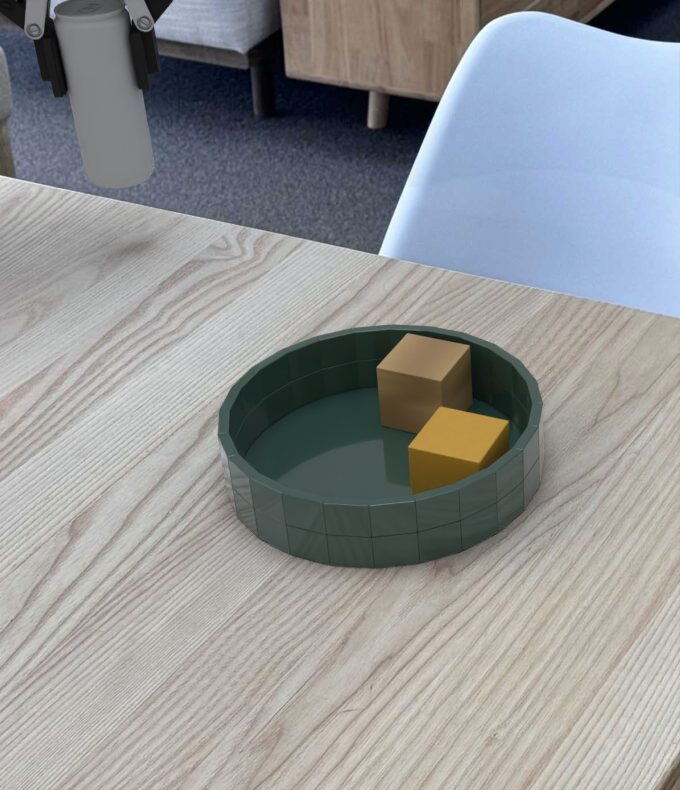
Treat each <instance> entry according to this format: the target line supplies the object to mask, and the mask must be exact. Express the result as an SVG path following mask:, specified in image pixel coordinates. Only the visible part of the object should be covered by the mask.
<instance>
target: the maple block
mask: <svg viewBox="0 0 680 790" xmlns="http://www.w3.org/2000/svg"><path fill="white" fill-rule="evenodd" d="M376 369H377V380H378V392H379V403H380V414H381V425H382V426H384V427H388V428H393V429H397V430H402V431H406V432H411V433H415V434H419V432H420V431H421V430H422V428H423V427H424V426H425V425H426V423H427V422H428V421H429V420H430V418H431V417H432V416H433V415H434V413H435V412H436V411H437V410H438V408H439V407H446V408H450V409H455V410H460V411H465V412H466V411H467V410H468V409H469V408H470V406H471V405H472V404H473V399H472V376H471V354H470V345H465V344H460V343H455V342H450V341H445V340H440V339H434V338H429V337H424V336H419V335H414V334H409V333H407V334H406V335H405V336H404V337H403V339H402V340H401V341H400V342H399V343H398V344H397V345H396V346H395V347H394V349H393V350H392V351H391V352H390V353H389V354H388V355H387V356H386V357H385V358H384V360H383V361H382V362H381V363H380V364H379V365H378V366H377V368H376Z"/></svg>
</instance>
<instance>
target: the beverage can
mask: <svg viewBox="0 0 680 790" xmlns="http://www.w3.org/2000/svg"><path fill="white" fill-rule="evenodd" d="M53 14H54V15H55V17H54V19H53V21H54V26H55V31H56V36H57V41H58V45H59V50H60V55H61V60H62V65H63V70H64V74H65V79H66V84H67V89H68V90H67V93H68V98H69V103H70V107H71V113H72V116H73V117H72V118H73V122H74V127H75V131H76V136H77V141H78V142H77V143H78V146H79V150H80V154H81V155H80V156H81V160H82V166H83V170H84V175H85V177H86V178H87V179H88V180H89V181H90V182H92V183H93V184H94V185H96V187H97V186H98V187H101V188H104V189H105V188H106V189H126V188H130V187H134V186H138V185H140V184H142V183H144V182H146V181H147V180H149V179H150V178H151V177H152V176H153V173H154V170H155V168H156V162H155V156H154V151H153V150H154V149H153V144H152V140H151V134H150V128H149V127H150V126H149V124H148V117H147V111H146V105H145V99H144V94H143V91H142V89H140V90H139V88H138V83H137V77H136V72H135V66H134V61H133V55H132V50H131V44H130V38H129V34H130V30H131V27H132V24H131V21H132V18H131V15H130V13H129V11H128V9H127V7H126V4H125V2H124V0H64V1H62V2H60V3H58V4H57V5H55V6H54V8H53Z"/></svg>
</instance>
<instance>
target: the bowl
mask: <svg viewBox="0 0 680 790" xmlns="http://www.w3.org/2000/svg"><path fill="white" fill-rule="evenodd" d="M407 333H409V334H414V335H419V336H424V337H429V338H434V339H440V340H445V341H450V342H455V343H460V344H465V345H470V354H471V376H472V399H473V404H472V405H471V406H470V408H469V409H468V410H467V411H466V412H469V413H474V414H479V415H484V416H488V417H493V418H498V419H503V420H507V421H509V444H510V450H509V451H508V452H507V453H505V454H504V455H503V456H502V457H500V458H499V459H498V460H497V461H495V462H494V463H493V464H491V465H490V466H489V467H487V468H485V469H483V470H481V471H479V472H477V473H475V474H473V475H470V476H468V477H466V478H464V479H462V480H460V481H458V482H456V483H454V484H451V485H447V486H444V487H440V488H436V489H433V490H429V491H425V492H421V493H418V494H414V495H412V492H411V479H410V466H409V453H408V446H409V445H410V444H411V442H412V441H413V440H414V439H415V437H416V436H417V435H418V434H415V433H411V432H406V431H402V430H397V429H393V428H388V427H384V426H382V425H381V414H380V403H379V392H378V380H377V369H376V368H377V366H378V365H379V364H380V363H381V362H382V361H383V360H384V358H385V357H386V356H387V355H388V354H389V353H390V352H391V351H392V350H393V349H394V347H395V346H396V345H397V344H398V343H399V342H400V341H401V340H402V339H403V337H404V336H405V335H406V334H407ZM544 428H545V427H544V399H543V397H542V393H541V390H540V387H539V383H538V380H537V379H536V377H535V376H534V375H533V374H532V373H531V371H529V369H528V368H527V367H526V365H525V364H524V363H523V362H522V361H521V359H519V358H518V357H516V356H514V355H512V354H511V353H510V352H508V351H506V350H505V349H503V348H502V347H500V346H499V345H498V344H496V343H493V342H491V341H488V340H486V339H483V338H481V337H478V336H475V335H473V334H469V333H467V332H463V331H458V330H455V329H448V328H442V327H437V326H433V325H418V324H417V325H415V324H394V323H392V324H389V323H388V324H379V325H369V326H368V325H367V326H358V327H356V326H355V327H350V328H345V329H342V330H341V329H340V330H337V331H332V332H328V333H323V334H319V335H315V336H311V337H309V338H307V339H304V340H302V341H299V342H296V343H294V344H291V345H289V346H286V347H284V348H281V349H279V350H278V351H276V352H274V353H273V354H271V355H269V356H268V357H266V358H264V359H263V360H260V362H257V363H256V364H255V365H253V366H251V367H250V368H249V369H248V371H246V372H245V373H244V374H243V375H242V376H241V377H240V378H239V379H238V380H237V381H236V382H235V383H234V384H232V386H231V387H230V389H229V390H228V392H227V394H226V396H225V398H224V400H223V401H222V404H221V406H220V408H219V410H218V420H217V434H216V435H217V440H218V447H219V452H220V459H221V464H222V470H223V475H224V482H225V483H224V484H225V487H226V493H227V496H228V498H229V501H230V503H231V506H232V508H233V511H234V513H235V515H236V517H237V518H238V519H239V520H240V521H241V522H242V524H244V526H245V527H246V528H247V530H248V531H250V532H251V533H252V534H254V535H255V536H256V537H257V538H258V539H259V540H261V541H263V542H265V543H267V544H268V545H269V546H271V547H273V548H275V549H277V550H279V551H282V552H283V553H286V554H288V555H291V556H293V557H296V558H300V559H302V560H305V561H309V562H313V563H317V564H323V565H328V566H335V567H345V568H352V569H353V568H354V569H361V568H362V569H381V568H396V567H402V566H411V565H417V564H422V563H427V562H430V561H435V560H438V559H439V560H440V559H442V558H446V557H448V556H451V555H455V554H457V553H460V552H463V551H466V550H468V549H470V548H472V547H474V546H477V545H478V544H480V543H483V542H484V541H486V540H488V539H490V538H491V537H493V536H494V535H496V534H498V533H499V532H500V531H502V530H503V529H505V528H506V527H507V526H509V525H510V524H511V523H512V522H513V521H514V520H516V518H518V517H519V516H520V515H521V514H522V513H523V512H524V511H525V510H526V508H527V506H529V504H530V503H531V501H532V500H533V499H534V496H535V494H536V493H537V492H538V491H537V490H538V489H539V488H540V485H541V481H542V475H543V469H544V463H545V440H544V439H545V437H544V436H545V435H544V434H545V433H544V431H545V429H544Z"/></svg>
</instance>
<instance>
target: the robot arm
mask: <svg viewBox="0 0 680 790" xmlns="http://www.w3.org/2000/svg"><path fill="white" fill-rule="evenodd" d="M124 2H125V4H126V5H125V7H126V9H127V10H128V12H129V14H130V18H131V25H132V27H131V30H130V34H129V38H130V44H131V50H132V55H133V61H134V66H135V72H136V77H137V83H138V88H139V90H140V89H142V92H150V91H151V89H152V85H153V81H154V80H153V79H154V75H156V74H160V73H161V70H162V68H161V67H162V66H161V59H160V51H159V47H158V41H157V36H156V35H157V34H156V30H155V29H156V28H155V24H156V23H157V21H158V20H160V18H161V17H162V15H163V14H164V13H165V12H166V10H167V9H169V7H170V5H172V3H173V2H174V0H124ZM51 5H52V0H0V14H1V15H2V16H4V17H5V18H6V19H8V20H9V21H11V23H13V24H15V25H16V26H18V27H19V28H20V29H21V30H23V31H24V34H25V35H26V36H27V37H28V38H29V39H31V40H32V42H33V45H34V49H35V55H36V59H37V63H38V68H39V73H40V77H41V81H42V82H44V83H45V82H50V84H51V88H52V95H53V97H54V99H58V98H64V96H66V95H67V93H68V89H67V84H66V79H65V74H64V70H63V65H62V60H61V55H60V50H59V45H58V41H57V36H56V31H55V26H54V19H53V18H52V17H51Z"/></svg>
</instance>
